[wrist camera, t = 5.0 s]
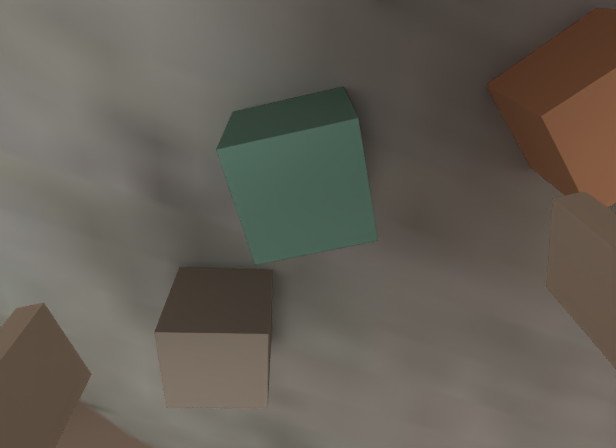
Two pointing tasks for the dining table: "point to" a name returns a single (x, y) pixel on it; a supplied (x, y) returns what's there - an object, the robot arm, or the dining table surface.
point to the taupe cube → (216, 338)
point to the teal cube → (298, 176)
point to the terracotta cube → (567, 107)
